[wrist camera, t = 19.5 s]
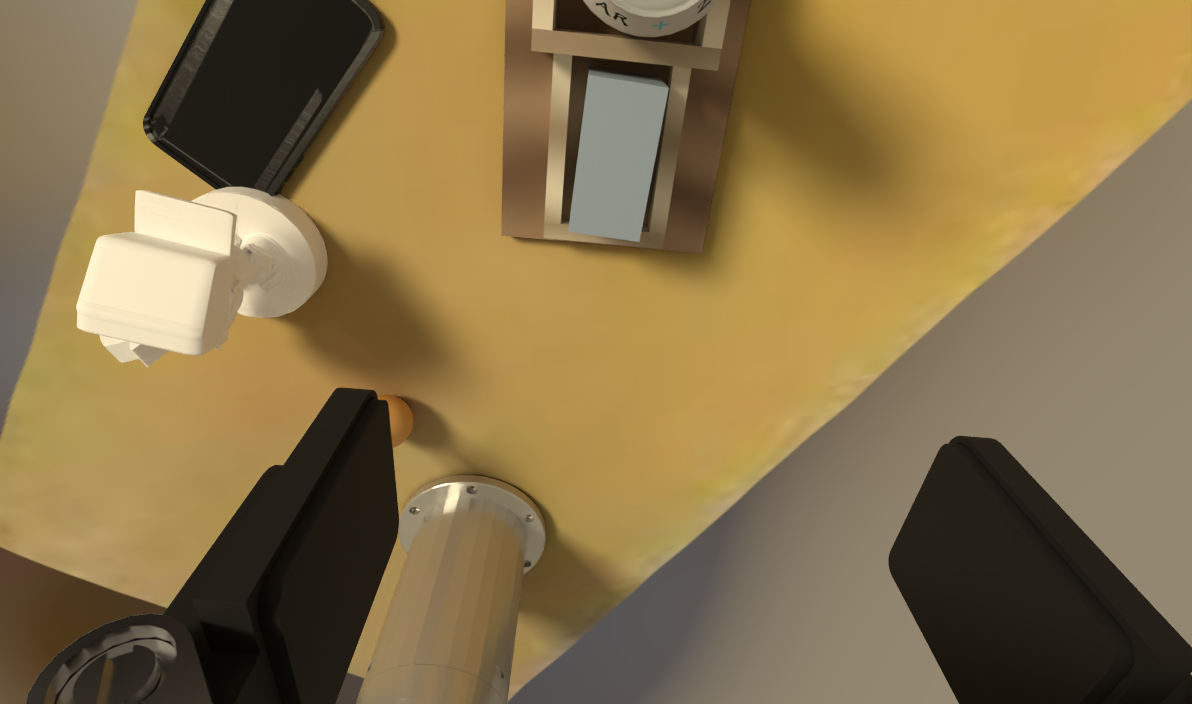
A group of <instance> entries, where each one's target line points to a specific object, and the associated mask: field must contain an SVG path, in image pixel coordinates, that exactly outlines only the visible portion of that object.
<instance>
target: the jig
mask: <svg viewBox="0 0 1192 704" xmlns="http://www.w3.org/2000/svg"><path fill="white" fill-rule="evenodd" d="M750 1H751V0H719V1H718V2H717V4H716V5H715V6H714V7H713V8H712V9H711V10H710V11H709V12H708V13H707V14H706V15H705V16H704V17H702V18H701V19H700V20H698V21H697V22H695V23H694V24H692V25H690V26H689V27H687V28H685V29H683V30H680V31H678V32H675V33H673V34H670V35H664V36H658V37H642V36H634V35H631V34H627V33H624V32H620V31H619V30H617V29H615V28H613V27H611V26H609V25H608V24H606V23H605V22H603V21H602V20H601V19H600V18H599V17H597V16H596V15H595V14H594V13H593V12H592V11H591V10H590V9H589V7H588V6H587V5H586V4H585V2H584V1H583V0H506V24H505V77H504V130H503V183H502V236H513V237H524V238H535V239H546V240H557V241H567V242H578V243H589V244H600V245H611V246H622V247H633V248H644V249H655V250H666V251H677V252H688V253H699V254H702V249H703V244H704V239H705V234H706V229H707V224H708V218H709V213H710V208H711V203H712V198H713V192H714V187H715V182H716V177H717V172H718V167H719V161H720V156H721V151H722V146H723V141H724V136H725V130H726V125H727V120H728V115H729V110H730V105H731V99H732V94H733V89H734V84H735V79H736V74H737V68H738V63H739V58H740V53H741V48H742V43H743V37H744V32H745V27H746V22H747V17H748V12H749V6H750ZM589 66H591V67H597V68H603V69H609V70H615V71H621V72H628V73H634V74H640V75H646V76H652V77H658V78H660V79H661V80H662V81H663V82H664V83H665V84H666V85H667V86H668V87H669V90H668V95H667V100H666V105H665V111H664V116H663V121H662V126H661V132H660V137H659V142H658V147H657V152H656V158H655V163H654V168H653V173H652V179H651V184H650V189H649V194H648V199H647V205H646V210H645V215H644V220H643V226H642V231H641V236H640V241H639V242H636V241H629V240H622V239H615V238H608V237H601V236H594V235H587V234H580V233H573V232H568V229H569V221H570V212H571V204H572V196H573V189H574V181H575V173H576V165H577V157H578V150H579V142H580V134H581V126H582V119H583V111H584V103H585V95H586V88H587V80H588V72H589Z"/></svg>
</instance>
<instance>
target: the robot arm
mask: <svg viewBox="0 0 1192 704" xmlns="http://www.w3.org/2000/svg"><path fill="white" fill-rule="evenodd" d="M398 530H399V538H400V541H401V544H402V547H403V548H404V550H405V552H406V553H407V557H406V560H405V562H404V565H403V568H402V571H401V574H400V577H399V580H398V583H397V586H396V589H395V592H394V595H393V597H392V600H391V603H390V606H389V609H388V612H387V615H386V618H385V621H384V624H383V627H382V629H381V632H380V635H379V638H378V641H377V644H376V647H375V650H374V653H373V656H372V659H371V662H370V664H369V667H368V670H367V673H366V676H365V679H364V682H363V685H362V688H361V691H360V694H359V696H358V700H357V703H356V704H507V700H508V692H509V684H510V676H511V668H512V660H513V652H514V644H515V636H516V628H517V620H518V612H519V604H520V596H521V589H522V581H523V575H524V574H525V573H527V572H528V571H529V570H531V569H532V568H533V567H534V566H535V564H536V563H537V562H538V561H539V559H540V557H541V555H542V553H543V551H544V546H545V540H546V527H545V522H544V519H543V517H542V514H541V512H540V510H539V509H538V508H537V506H536V505H535V504H534V502H533V501H532V500H531V499H530V498H528V497H527V496H526V495H525V494H524V493H523V492H521V491H519V490H518V489H516V488H515V487H513V486H511V485H509V484H506V483H504V482H502V481H499V480H496V479H492V478H488V477H483V476H474V475H458V476H451V477H446V478H441V479H438V480H436V481H433V482H430V483H428V484H427V485H425V486H423V487H422V488H420V489H418V490H417V491H416V492H415V493H414V494H413V495H412V496H411V497H410V498H409V500H408V501H407V503H406V504H405V506H404V509H403V511H402V514H401V516H400V520H399V514H398V503H397V492H396V481H395V470H394V459H393V448H392V437H391V426H390V415H389V406H388V402H387V401H386V400H379V399H378V397H377V394H376V392H375V391H374V390H365V389H352V388H337V389H336V390H335V391H334V392H333V393H332V395H331V396H330V398H329V399H328V401H327V402H326V404H325V405H324V407H323V408H322V409H321V411H320V412H319V414H318V415H317V417H316V418H315V420H314V421H313V423H312V424H311V426H310V427H309V429H308V430H307V431H306V433H305V434H304V436H303V437H302V439H301V440H300V442H299V443H298V445H297V446H296V448H295V449H294V451H293V452H292V453H291V455H290V456H289V458H288V459H287V461H286V462H285V464H284V465H274V466H272V467H270V468H269V469H268V470H267V471H266V472H265V473H264V474H263V475H262V476H261V478H260V479H259V481H258V482H257V483H256V485H255V486H254V488H253V489H252V490H251V492H250V493H249V495H248V496H247V498H246V499H245V500H244V502H243V503H242V505H241V506H240V507H239V509H238V510H237V512H236V513H235V514H234V516H233V517H232V519H231V520H230V521H229V523H228V524H227V526H226V527H225V528H224V530H223V531H222V533H221V534H220V535H219V537H218V538H217V540H216V541H215V542H214V544H213V545H212V547H211V548H210V549H209V551H208V552H207V554H206V555H205V556H204V558H203V559H202V561H201V562H200V564H199V565H198V566H197V568H196V569H195V571H194V572H193V573H192V575H191V576H190V578H189V579H188V580H187V582H186V583H185V585H184V586H183V587H182V589H181V590H180V592H179V593H178V594H177V596H176V597H175V599H174V600H173V601H172V603H171V604H170V606H169V607H168V608H167V610H166V611H165V613H164V614H163V615H159V614H152V613H151V614H143V615H134V616H128V617H125V618H122V619H119V620H116V621H113V622H110V623H107V624H104V625H102V626H100V627H99V628H97V629H95V630H93V631H91V632H89V633H87V634H85V635H83V636H81V637H80V638H78V639H77V640H76V641H74V642H73V643H72V644H70V645H69V646H68V647H66V648H65V649H64V650H62V651H61V652H60V653H58V654H57V655H56V657H55V658H54V659H53V660H52V661H51V662H50V663H49V664H48V665H47V666H46V667H45V668H44V669H43V671H42V672H41V673H40V674H39V676H38V678H37V679H36V681H35V683H34V684H33V686H32V688H31V690H30V691H29V693H28V696H27V702H26V704H335V703H336V700H337V697H338V695H339V692H340V689H341V687H342V684H343V681H344V679H345V676H346V673H347V671H348V668H349V665H350V663H351V660H352V657H353V655H354V652H355V649H356V646H357V644H358V641H359V638H360V636H361V633H362V630H363V628H364V625H365V622H366V620H367V617H368V614H369V612H370V609H371V606H372V604H373V601H374V598H375V596H376V593H377V590H378V588H379V585H380V582H381V579H382V577H383V574H384V571H385V569H386V566H387V563H388V561H389V558H390V555H391V553H392V550H393V547H394V545H395V542H396V539H397V534H398ZM889 568H890V572H891V575H892V577H893V579H894V581H895V582H896V584H897V586H898V588H899V590H900V592H901V594H902V596H903V598H904V600H905V602H906V603H907V605H908V607H909V609H910V611H911V613H912V615H913V617H914V619H915V621H916V622H917V624H918V626H919V628H920V630H921V632H922V633H923V636H924V638H925V639H926V642H927V643H928V645H929V647H930V649H931V651H932V653H933V655H934V657H935V658H936V661H937V662H938V664H939V666H940V668H941V670H942V672H943V674H944V676H945V678H946V680H947V682H948V683H949V685H950V687H951V689H952V691H953V693H954V695H955V697H956V699H957V700H958V702H959V704H1192V675H1191V674H1190V673H1191V672H1192V647H1191V646H1190V645H1189V644H1188V643H1187V642H1186V641H1185V640H1184V639H1183V638H1182V637H1181V636H1180V634H1179V633H1178V632H1177V631H1176V630H1175V629H1174V628H1173V627H1172V626H1171V625H1170V624H1169V623H1168V622H1167V621H1166V619H1165V618H1164V617H1163V616H1162V615H1161V614H1160V613H1159V612H1158V611H1157V610H1156V609H1155V608H1154V607H1153V606H1152V605H1151V603H1150V602H1149V601H1148V600H1147V599H1146V598H1145V597H1144V596H1143V595H1142V594H1141V593H1140V592H1139V591H1138V590H1137V588H1136V587H1135V586H1134V585H1133V584H1132V583H1131V582H1130V581H1129V580H1128V579H1127V578H1126V577H1125V576H1124V575H1123V574H1122V572H1121V571H1120V570H1119V569H1118V568H1117V567H1116V566H1115V565H1114V564H1113V563H1112V562H1111V561H1110V560H1109V559H1108V557H1107V556H1105V554H1104V553H1103V552H1102V551H1101V550H1100V549H1099V548H1098V547H1097V546H1096V545H1095V544H1094V543H1093V541H1092V540H1091V539H1090V538H1089V537H1088V536H1087V535H1086V534H1085V533H1084V532H1083V531H1082V530H1081V529H1080V528H1079V526H1078V525H1077V524H1076V523H1075V522H1074V521H1073V520H1072V519H1071V518H1070V517H1069V516H1068V515H1067V514H1066V513H1065V511H1064V510H1062V508H1061V507H1060V506H1059V505H1058V504H1057V503H1056V502H1055V501H1054V500H1053V499H1052V498H1051V497H1050V495H1049V494H1048V493H1047V492H1046V491H1045V490H1044V489H1043V488H1042V487H1041V486H1040V485H1039V484H1038V483H1037V482H1036V480H1035V479H1034V478H1033V477H1032V476H1031V475H1030V474H1029V473H1028V472H1027V471H1026V470H1025V469H1024V468H1023V467H1022V466H1021V464H1020V463H1019V462H1018V461H1017V460H1016V459H1015V458H1014V457H1013V456H1012V455H1011V454H1010V453H1009V452H1008V451H1007V450H1006V448H1005V447H1004V446H1003V445H1002V444H1001V443H1000V442H998V441H997V440H995V439H991V438H981V437H968V436H957V437H955V438H953V439H952V440H951V441H950V442H949V444H944V445H943V446H942V447H941V448H940V450H939V451H938V453H937V455H936V458H935V460H934V462H933V464H932V466H931V468H930V470H929V472H928V474H927V476H926V478H925V480H924V482H923V484H922V487H921V489H920V491H919V493H918V495H917V497H916V499H915V501H914V503H913V505H912V507H911V509H910V512H909V514H908V516H907V518H906V520H905V522H904V524H903V526H902V528H901V530H900V532H899V534H898V536H897V538H896V540H895V543H894V545H893V547H892V549H891V551H890V554H889Z"/></svg>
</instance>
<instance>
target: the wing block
mask: <svg viewBox="0 0 1192 704" xmlns="http://www.w3.org/2000/svg"><path fill="white" fill-rule="evenodd" d="M668 90H669V87H668V86H667V85H666V84H665V83H664V82H663V81H662V80H661V79H660V78H658V77H652V76H646V75H640V74H634V73H628V72H621V71H615V70H609V69H603V68H597V67H591V66H589V72H588V80H587V88H586V95H585V103H584V111H583V119H582V126H581V134H580V142H579V150H578V157H577V165H576V173H575V181H574V189H573V196H572V204H571V212H570V221H569V229H568V232H573V233H580V234H587V235H594V236H601V237H608V238H615V239H622V240H629V241H636V242H639V241H640V236H641V231H642V226H643V220H644V215H645V210H646V205H647V199H648V194H649V189H650V184H651V179H652V173H653V168H654V163H655V158H656V152H657V147H658V142H659V137H660V132H661V126H662V121H663V116H664V111H665V105H666V100H667V95H668Z"/></svg>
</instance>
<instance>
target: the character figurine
mask: <svg viewBox="0 0 1192 704" xmlns="http://www.w3.org/2000/svg"><path fill="white" fill-rule="evenodd" d="M327 266H328V260H327V251H326V247H325V243H324V240H323V238H322V236H321V234H320V232H319V230H318V229H317V227H316V226H315V224H314V223H313V221H312V220H311V219H310V218H309V217H308V216H307V214H306V213H305V212H304V211H303V210H302V209H301V208H299V207H298V206H297V205H295V204H294V203H293V202H291V201H290V200H289V199H287V198H285V197H284V196H282V195H280V194H278V195H274V196H270V195H269V194H268V193H265V192H262V191H259V190H256V189H251V188H245V187H225V188H222V189H217V190H213V191H211V192H209V193H207V194H205V195H203V196H201V197H199V198H197V199H195V200H192V201H188V200H184V199H180V198H176V197H172V196H168V195H164V194H160V193H157V192H153V191H147V190H140V191H136V199H135V232H125V233H117V234H109V235H103V236H100V237H99V238H98V239H97V241H96V244H95V247H94V250H93V254H92V257H91V260H90V263H89V267H88V270H87V273H86V276H85V280H84V283H83V286H82V289H81V293H80V296H79V299H78V303H77V307H76V309H77V311H78V315H77V327H78V328H79V329H81V330H83V331H85V332H89V333H93V334H97V335H100V339H101V342H102V343H103V345H104V346H105V347H106V348H107V349H108V350H109V351H110V352H111V353H112V354H113V355H114V356H115V357H116V358H117V359H118V360H119V361H120V362H121V363H123V362H128V361H132V360H137V359H140V360H141V361H142V362H143V363H144V364H145V365H146V366H147V367H149V366H150V365H152V364H153V363H154V362H155V361H157V360H158V359H159V358H160V357H161V356H163V355H164V354H165V353H167V352H168V351H173V352H178V353H182V354H187V355H195V356H198V355H204V354H205V353H207V352H209V351H211V350H213V349H214V348H217V349H219V350H221V347H220V345H221V344H223V343H224V342H226V341H227V339H228V330H229V329H230V327H231V325H232V323H233V321H234V319H235V317H236V315H237V313H239V314H242V315H245V316H251V317H259V318H269V317H280V316H282V315H285V314H288V313H290V312H293V311H295V310H296V309H297V308H299V307H300V306H301V305H303V304H304V303H305V302H306V301H307V300H308V299H309V298H310V297H311V296H312V295H313V294H314V293H315V292H316V291H317V289H318V288H319V287H320V286H321V285H322V282H323V280H324V278H325V276H326V272H327Z"/></svg>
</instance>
